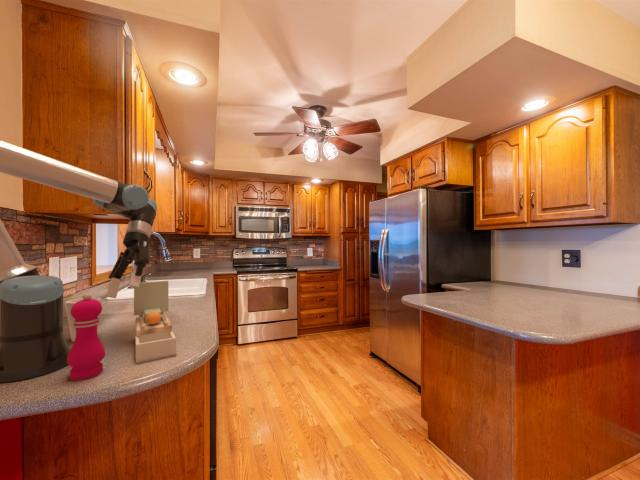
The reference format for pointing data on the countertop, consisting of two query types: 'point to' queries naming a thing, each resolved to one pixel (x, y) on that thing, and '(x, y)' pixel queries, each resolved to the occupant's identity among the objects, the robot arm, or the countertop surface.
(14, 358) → the robot arm
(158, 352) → the open beige box
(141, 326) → the launcher
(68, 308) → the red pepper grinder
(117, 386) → the countertop surface
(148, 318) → the ball
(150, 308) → the lid
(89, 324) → the pepper mill
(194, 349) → the countertop surface
